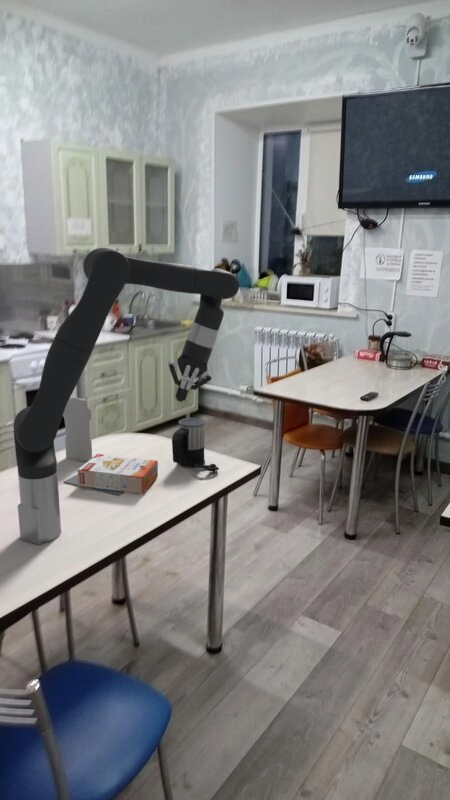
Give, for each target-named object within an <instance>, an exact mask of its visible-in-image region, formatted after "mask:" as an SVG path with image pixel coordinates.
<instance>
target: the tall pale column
mask: <svg viewBox="0 0 450 800" xmlns="http://www.w3.org/2000/svg"><path fill="white" fill-rule="evenodd" d="M62 418H64V425H65V426H64V427H65V428H64V429H65V430H64V431H65V437H64V443H65V444H64V445H65V459H66V460H69V459H70V460H69V461H73V462H77V463H78V462H79V463H80V462H84V463H85V462H86V463H87V462H88V461H89V460H90V459H92V458H93V448H92V447H93V445H92V444H93V443H92V438H91V421H92V409H91V408H90V407H89V405H88V400H87V399H83V398H80V397H70V398H69V400H68V402H67V405H66V407H65V410H64V413H63V416H62Z"/></svg>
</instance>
